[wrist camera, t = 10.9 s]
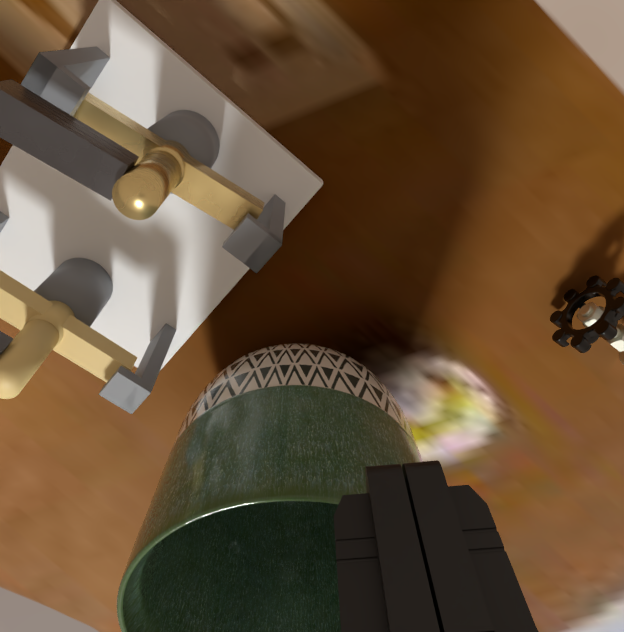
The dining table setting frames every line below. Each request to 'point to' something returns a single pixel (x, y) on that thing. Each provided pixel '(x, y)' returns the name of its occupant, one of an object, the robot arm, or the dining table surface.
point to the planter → (261, 496)
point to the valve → (592, 316)
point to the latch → (118, 157)
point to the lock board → (127, 234)
